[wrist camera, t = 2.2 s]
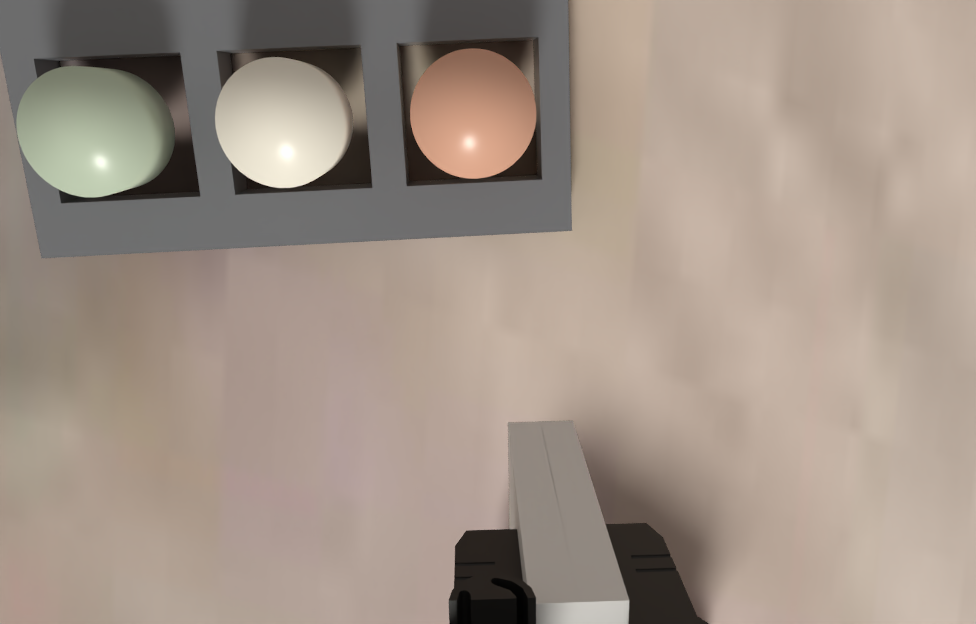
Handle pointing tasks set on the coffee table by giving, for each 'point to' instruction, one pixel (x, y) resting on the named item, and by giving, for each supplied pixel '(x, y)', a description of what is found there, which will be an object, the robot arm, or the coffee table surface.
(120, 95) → the button sage
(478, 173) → the button terracotta
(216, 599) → the coffee table surface
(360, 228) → the frame
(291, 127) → the button cream
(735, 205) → the coffee table surface
